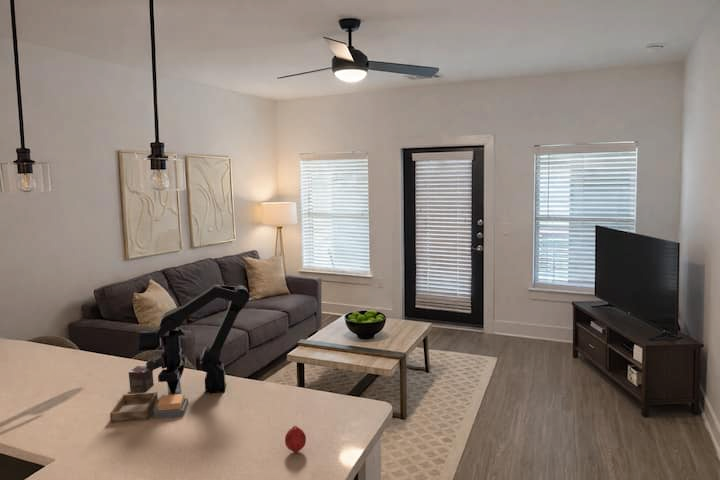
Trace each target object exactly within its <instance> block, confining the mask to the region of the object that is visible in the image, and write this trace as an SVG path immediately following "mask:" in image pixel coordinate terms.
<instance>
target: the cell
mask: <svg viewBox="0 0 720 480" xmlns="http://www.w3.org/2000/svg"><path fill="white" fill-rule="evenodd" d="M179 375H180V374H179ZM181 379H182V378H181ZM181 379H179V382H178V385H177V388H176V391H175V394H182V382H181ZM166 385H167V395H174V394H172V393H171V391H170V388H169V386H168V384H166Z"/></svg>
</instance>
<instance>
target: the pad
mask: <svg viewBox="0 0 720 480" xmlns="http://www.w3.org/2000/svg"><path fill="white" fill-rule="evenodd" d="M185 398H186V397H185V393H181V394H174V395H168V394H166V395H165V394H164V395H161V397H160V399H159V402H157V403H158V404H157V406H158V411H160V410H161V411H165V410H178V409H182V407H183V402H184V400H185Z"/></svg>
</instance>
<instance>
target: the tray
mask: <svg viewBox="0 0 720 480" xmlns="http://www.w3.org/2000/svg"><path fill="white" fill-rule="evenodd" d="M157 403H158V391H153V392H152V391H151V392H138V393H126V394H125V393H124V394H123V395H122V396H121V397H120V399H118V401H117V403H116V404H115V406H114V407H113V408H112V410H111V411H110V413H109V415H110V416H109V417H110V423H121V422H124V423H125V422H133V421H146V420H148V419H149V418H150V416H151V414H152V412H153V409H154V408H155V407H156V404H157Z"/></svg>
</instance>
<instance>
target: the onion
mask: <svg viewBox="0 0 720 480" xmlns="http://www.w3.org/2000/svg"><path fill="white" fill-rule="evenodd" d="M306 442H307V437H306V434H305V431H304V430H303V429H301V428H300V427H298V426H297V425H293V426H292V428H290V429H289V430H288V431H287V432H286V434H285V436H284V444H285V447H286V448H287V449H288V450H289V451H292V452H293V453H295V454H297V453H299V452H300V451H301V450H302V449H303V448H304V447H305V445H306Z"/></svg>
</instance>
